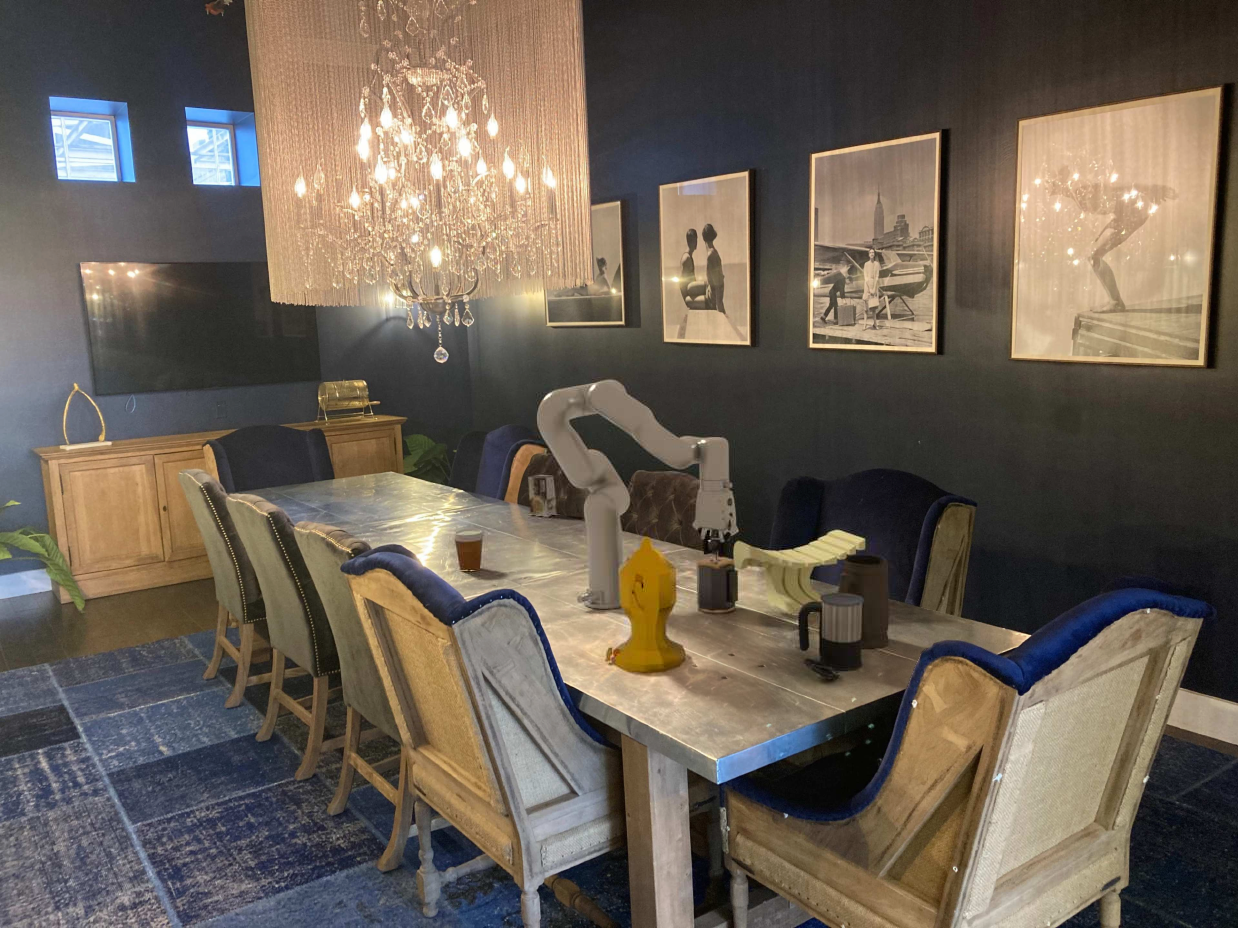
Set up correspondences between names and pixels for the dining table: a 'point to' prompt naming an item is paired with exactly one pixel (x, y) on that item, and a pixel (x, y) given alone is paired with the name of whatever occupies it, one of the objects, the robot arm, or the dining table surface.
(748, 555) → the slatted curved stool
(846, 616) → the milk frother
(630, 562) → the yellow tall piece
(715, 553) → the plunger
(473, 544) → the glass of beer
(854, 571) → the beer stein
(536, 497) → the coffee box
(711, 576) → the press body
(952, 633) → the dining table surface
